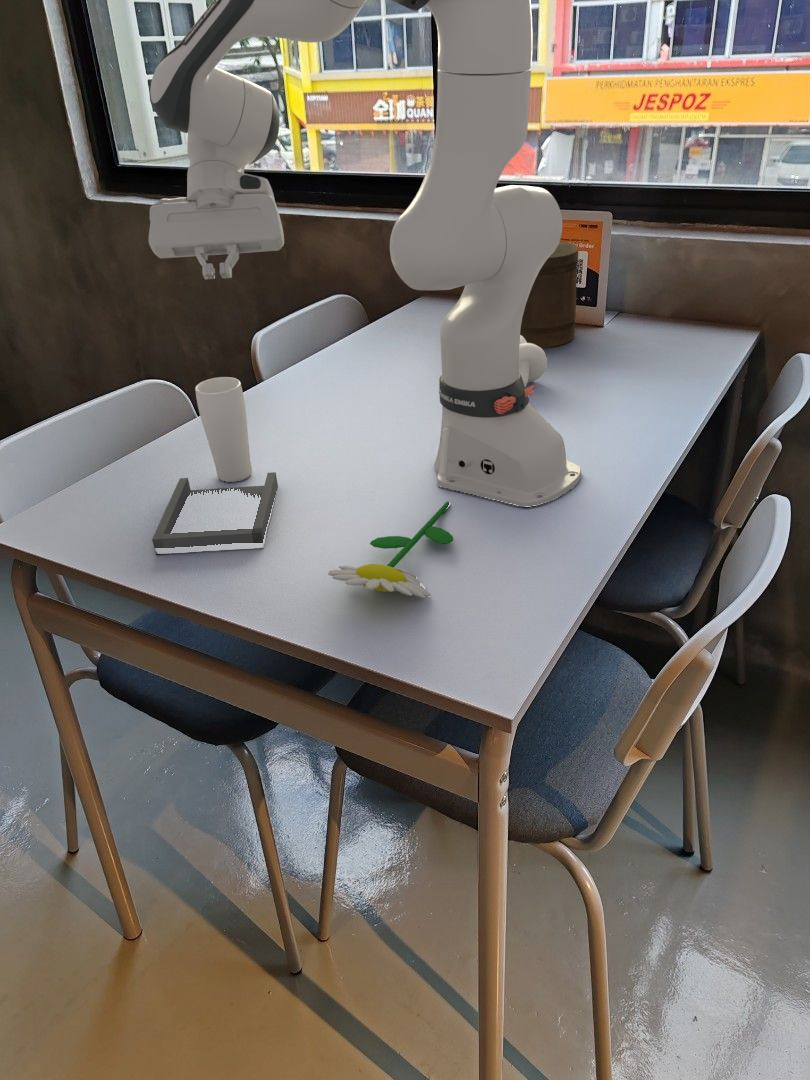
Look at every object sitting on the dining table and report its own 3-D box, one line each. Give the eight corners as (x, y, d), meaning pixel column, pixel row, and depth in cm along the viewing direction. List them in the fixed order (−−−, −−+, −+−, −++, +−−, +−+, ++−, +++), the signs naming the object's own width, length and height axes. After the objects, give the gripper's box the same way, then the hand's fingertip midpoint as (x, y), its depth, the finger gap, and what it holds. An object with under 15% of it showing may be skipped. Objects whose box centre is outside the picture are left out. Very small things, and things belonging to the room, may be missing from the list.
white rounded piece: (544, 374, 156) (546, 328, 152) (547, 399, 146) (549, 350, 141) (484, 375, 158) (484, 329, 153) (483, 400, 148) (483, 352, 143)
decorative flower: (405, 514, 120) (307, 610, 95) (407, 483, 118) (307, 573, 92) (489, 531, 116) (410, 636, 90) (492, 499, 114) (412, 598, 88)
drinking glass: (253, 485, 125) (236, 392, 117) (209, 487, 125) (189, 395, 118) (260, 465, 131) (244, 375, 123) (218, 467, 131) (200, 377, 123)
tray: (183, 492, 124) (179, 478, 123) (278, 486, 124) (275, 472, 123) (156, 555, 110) (152, 539, 109) (263, 548, 110) (260, 532, 108)
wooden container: (585, 330, 176) (591, 222, 164) (557, 352, 166) (561, 239, 154) (521, 322, 183) (523, 218, 172) (491, 343, 173) (490, 234, 161)
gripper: (142, 187, 124) (141, 270, 121) (277, 178, 124) (279, 260, 121) (156, 212, 130) (155, 292, 127) (285, 204, 130) (287, 283, 127)
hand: (217, 276), depth 124 cm, fingers closed
